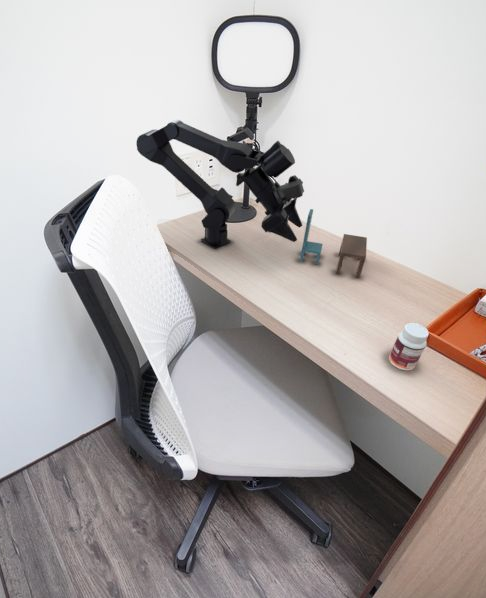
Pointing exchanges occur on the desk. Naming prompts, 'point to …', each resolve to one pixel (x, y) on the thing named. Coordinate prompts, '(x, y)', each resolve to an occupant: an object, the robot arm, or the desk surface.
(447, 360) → the desk surface
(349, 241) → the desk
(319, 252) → the chair
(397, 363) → the pill bottle
